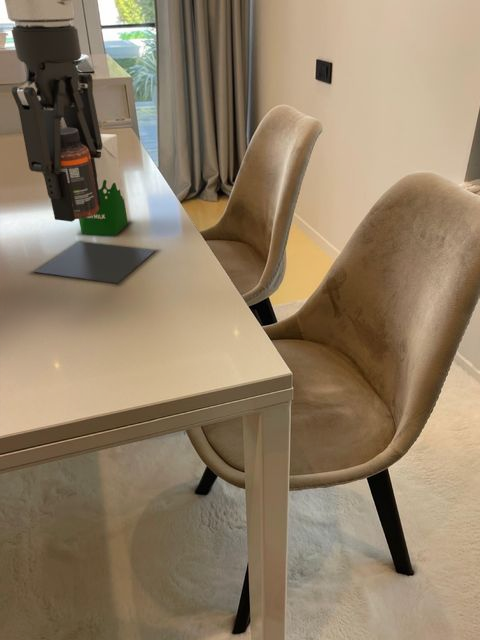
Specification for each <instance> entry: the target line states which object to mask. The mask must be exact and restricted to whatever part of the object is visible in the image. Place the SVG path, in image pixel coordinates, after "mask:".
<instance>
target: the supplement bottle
mask: <svg viewBox="0 0 480 640" xmlns="http://www.w3.org/2000/svg"><path fill="white" fill-rule="evenodd" d="M60 136H61V172H66V175H67V180H68V186H69V191H70V196H71V201H72V206H73V212H74V217H75V220H79V219H81V218H87V217H90V216H92V215H94V214H95V213H97V212H98V210H99V207H98V200H97V193H96V188H95V182H94V176H93V170H92V164H91V158H90V153H89V150H88V148H87V147H86V146H85V145H82V143H81V142H80V141H79V140H80V137H79V131H78V129H76V128H69V127H67V126H65V127H64V126H63V127H60ZM51 164H52V162H51Z"/></svg>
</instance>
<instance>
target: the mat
mask: <svg viewBox="0 0 480 640" xmlns="http://www.w3.org/2000/svg"><path fill="white" fill-rule="evenodd" d="M155 252H156V250H154V249H153V250H152V249H147V248H146V249H144V248H137V247H136V248H135V247H127V246H119V245H113V244H112V245H111V244H102V243H95V242H94V243H93V242H85V241H78V242H76V243H75V244H73V245H72V246H71V247H69V248H68V249H66V250H64V252H62V253H60V254H59V255H57V256H55V258H52V259H51V260H50V261H48V262H47V263H45V264H44V265H42V266H41V267H39V268H38V269H37V270H35V271H34V274H41V275H46V276H47V275H48V276H55V277H61V278H68V279H69V278H70V279H78V280H83V281H84V280H85V281H92V282H100V283H107V284H114V285H119V284H120V283H121V282H122V281H124V280H125V278H127V277H128V276H129V275H130V274H131V273H133V272H134V271H135V270H136V269H137V268H138V267H139V266H141V265H142V264H143V263H144V262H145V261H146V260H148V258H150V257H151V256H152V255H154V253H155Z"/></svg>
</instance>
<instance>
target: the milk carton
mask: <svg viewBox="0 0 480 640" xmlns="http://www.w3.org/2000/svg"><path fill="white" fill-rule="evenodd" d="M100 135H101V140H102V149H101V150H97V151H100V152H101V157H100V158H94V160H95V166H96V172H97V182H98V189H99V195H100V201H101V205H100V206H98V207H99V210H98V212H97V213H95V214H94V215H92V216H90V217H87V218H81V219H78V221H79V227H80V232H81V235H88V236H106V237H115V236H117V235H118V234H119V233H120V232H121V231H122V230H123V229H124V228H125V227H126V226H127V225H128V224H129V221H128V215H127V208H126V203H125V196H124V189H123V181H122V175H121V168H120V161H119V148H118V134H113V133H111V134H110V133H100ZM92 141H94V139H92Z"/></svg>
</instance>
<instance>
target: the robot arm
mask: <svg viewBox="0 0 480 640" xmlns="http://www.w3.org/2000/svg"><path fill="white" fill-rule="evenodd" d="M4 4H5V9H6V14H7V19H8V20H9V21H11V22H14V25H15V26H13V27H12V29H11V35H12V40H13V44H14V48H15V53H16V58H17V59H18V61H20V62H21V63H23V64H24V65H25V67H26V77H25V78H26V79H25V80H26V82H25V83H23V85H21V86H17V85H16V86H15V85H14V86H13V87H12V88H11V95H12V97H13V99H14V101H15V104H16V106H17V108H18V114H19V119H20V125H21V130H22V136H23V140H24V141H23V142H24V146H25V147H24V148H25V153H26V157H27V163H28V168H29V170H30V171H31V172H35V173H41V174H42V175H43V178H44V183H45V186H46V191H47V196H48V198H49V199H50V202H51V203H50V204H51V208H52V212H53V216H54V217H53V218H54V220H55V221H64V222H71V223H73V222H74V221H76V219H75V217H74V212H73V206H72V201H71V196H70V191H69V186H68V180H67V175H66V172H61V136H60V128H61V119H62V118H63V121H64V123H65V127H69V128H76V129H78V131H79V137H80V140H79V141H80V142H81V143H82V145H85V146H86V147H87V148H88V150H89V153H90V158H91V164H92V170H93V176H94V182H95V188H96V193H97V200H98V206H100V205H101V201H100V195H99V189H98V182H97V172H96V166H95V160H94V158H100V157H101V152H100V151H97V150H101V149H102V140H101V135H100V134H101V130H100V125H99V118H98V114H97V108H96V104H95V98H94V88H93V87H94V85H93V84H94V82H93V80H94V79H93V75H92V74H91V73H80V72H79V70H78V68H77V66H76V61H79V60H80V59H81V57H82V51H81V45H80V39H79V32H78V28H76V26H75V25H72V24H71V21H73V20H74V19H75V18H76V16H75V9H74V4H73V0H4ZM92 139H94V141H92ZM51 162H52V164H51Z"/></svg>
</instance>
